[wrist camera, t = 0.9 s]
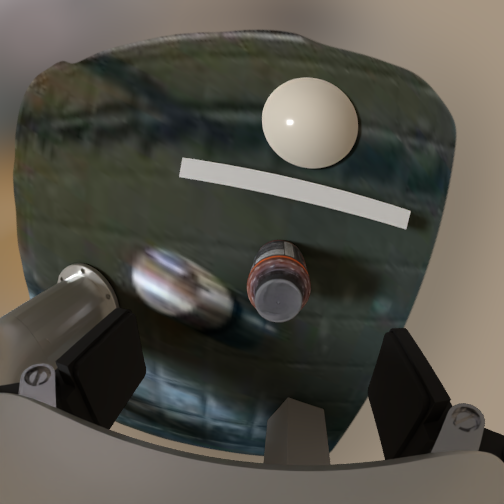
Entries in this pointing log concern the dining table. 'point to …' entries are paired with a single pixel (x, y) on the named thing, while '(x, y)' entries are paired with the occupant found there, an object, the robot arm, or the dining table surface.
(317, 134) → the resting pad
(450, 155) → the dining table surface
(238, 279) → the dining table surface
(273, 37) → the dining table surface
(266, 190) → the low wall
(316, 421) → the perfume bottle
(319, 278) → the dining table surface
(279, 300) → the supplement bottle
